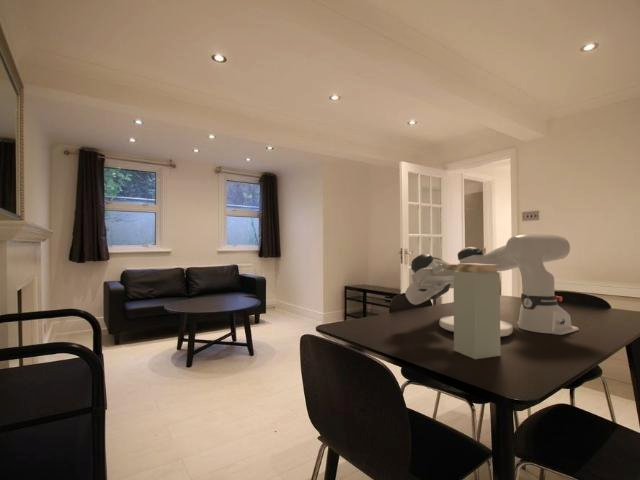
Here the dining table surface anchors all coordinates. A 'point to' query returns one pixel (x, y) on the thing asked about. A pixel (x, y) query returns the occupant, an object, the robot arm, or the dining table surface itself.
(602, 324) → the dining table surface
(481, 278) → the shelf block
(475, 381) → the dining table surface
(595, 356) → the dining table surface
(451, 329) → the plate
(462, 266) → the wooden paddle
